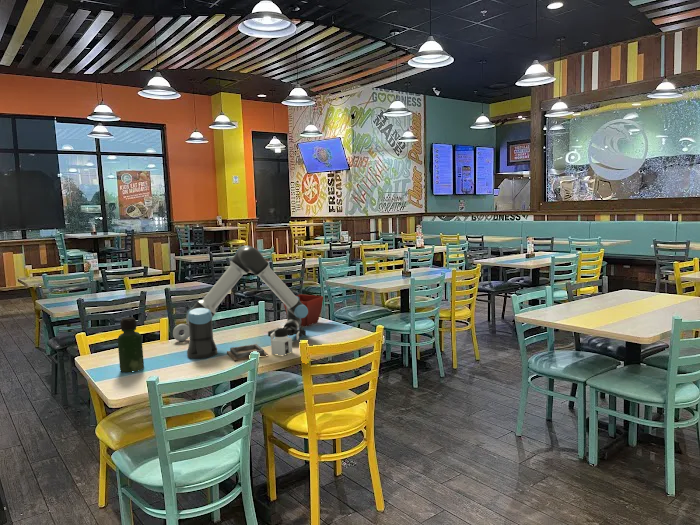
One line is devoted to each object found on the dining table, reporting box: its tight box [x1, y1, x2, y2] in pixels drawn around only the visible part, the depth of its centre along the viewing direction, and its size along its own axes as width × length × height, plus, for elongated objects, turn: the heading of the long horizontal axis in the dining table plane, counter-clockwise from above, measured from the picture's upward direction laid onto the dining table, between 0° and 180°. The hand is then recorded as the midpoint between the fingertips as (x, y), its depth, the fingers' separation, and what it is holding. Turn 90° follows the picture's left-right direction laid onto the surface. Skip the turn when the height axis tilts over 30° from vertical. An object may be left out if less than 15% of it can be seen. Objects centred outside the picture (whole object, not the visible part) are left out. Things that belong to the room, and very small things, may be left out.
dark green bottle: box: [117, 316, 145, 373], centre depth 241 cm, size 10×10×25 cm
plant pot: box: [282, 294, 324, 327], centre depth 324 cm, size 19×19×17 cm
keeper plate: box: [226, 343, 269, 362], centre depth 260 cm, size 17×17×3 cm
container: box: [270, 327, 293, 356], centre depth 260 cm, size 8×8×13 cm
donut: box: [172, 323, 190, 342], centre depth 292 cm, size 10×3×10 cm, turn 126°
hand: (284, 337), depth 264 cm, fingers open, 13 cm apart
